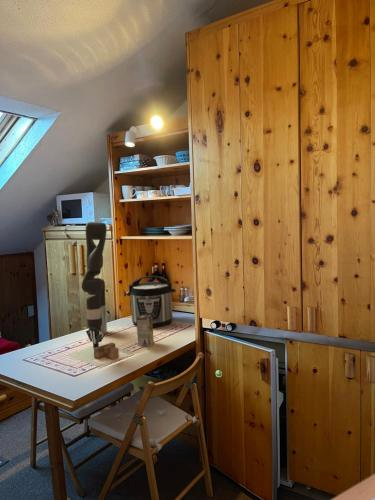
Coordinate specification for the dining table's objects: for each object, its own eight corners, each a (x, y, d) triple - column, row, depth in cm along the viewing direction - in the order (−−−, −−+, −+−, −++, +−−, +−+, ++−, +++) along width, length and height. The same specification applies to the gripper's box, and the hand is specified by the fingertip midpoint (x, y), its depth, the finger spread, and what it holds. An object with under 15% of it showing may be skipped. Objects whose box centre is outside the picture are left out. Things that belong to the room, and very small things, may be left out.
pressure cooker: (120, 326, 249) (118, 278, 246) (145, 316, 273) (143, 272, 271) (158, 331, 234) (156, 280, 231) (182, 320, 258) (180, 273, 256)
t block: (94, 358, 189) (93, 348, 188) (112, 351, 197) (111, 342, 196) (106, 362, 182) (106, 352, 182) (124, 355, 190) (124, 346, 190)
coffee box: (143, 342, 214) (141, 314, 213) (153, 342, 213) (152, 314, 211) (137, 347, 205) (136, 318, 204) (149, 348, 204) (147, 318, 202)
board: (66, 357, 195) (66, 355, 195) (101, 345, 211) (101, 343, 211) (99, 368, 177) (98, 366, 177) (134, 354, 194) (134, 352, 194)
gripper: (80, 316, 197) (82, 349, 198) (96, 320, 188) (98, 354, 190) (92, 313, 202) (94, 345, 204) (108, 317, 194) (110, 350, 195)
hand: (96, 349), depth 197 cm, fingers closed
